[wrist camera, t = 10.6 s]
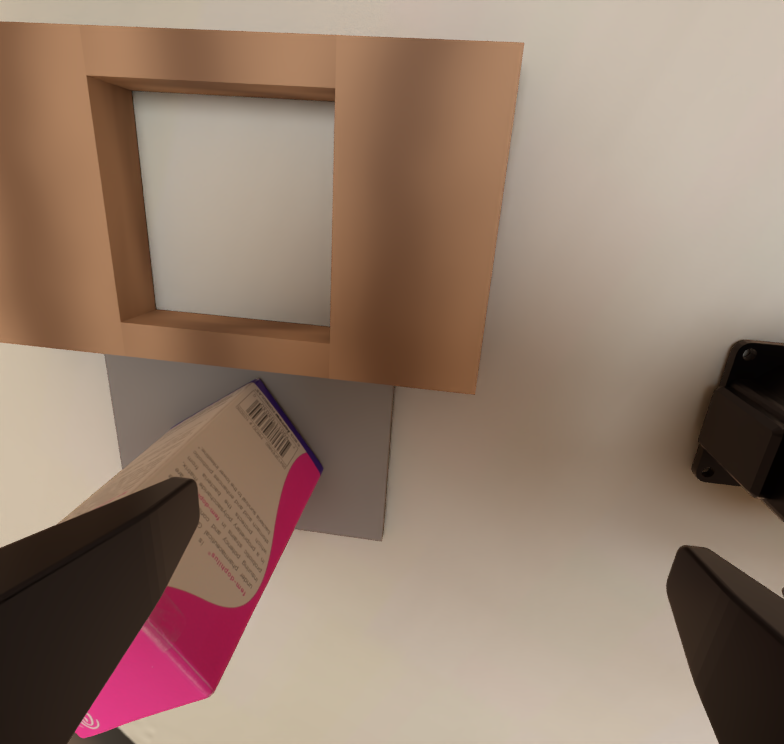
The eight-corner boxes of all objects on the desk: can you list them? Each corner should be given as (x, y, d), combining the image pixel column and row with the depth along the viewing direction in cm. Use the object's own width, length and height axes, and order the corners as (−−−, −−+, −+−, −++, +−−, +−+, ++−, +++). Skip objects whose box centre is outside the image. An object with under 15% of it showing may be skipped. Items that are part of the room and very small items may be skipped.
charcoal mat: (395, 375, 22) (393, 379, 21) (383, 533, 25) (381, 541, 24) (111, 344, 23) (103, 348, 23) (134, 498, 26) (128, 505, 26)
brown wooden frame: (514, 64, 17) (524, 42, 15) (472, 373, 21) (474, 394, 19) (-13, 40, 19) (-79, 18, 17) (44, 327, 23) (-2, 342, 21)
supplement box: (169, 427, 24) (-67, 616, 13) (260, 374, 22) (76, 538, 11) (238, 514, 25) (76, 750, 14) (328, 470, 23) (221, 699, 13)
